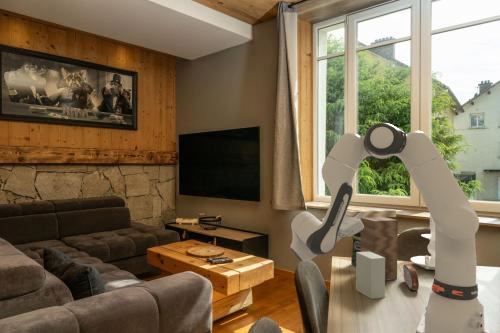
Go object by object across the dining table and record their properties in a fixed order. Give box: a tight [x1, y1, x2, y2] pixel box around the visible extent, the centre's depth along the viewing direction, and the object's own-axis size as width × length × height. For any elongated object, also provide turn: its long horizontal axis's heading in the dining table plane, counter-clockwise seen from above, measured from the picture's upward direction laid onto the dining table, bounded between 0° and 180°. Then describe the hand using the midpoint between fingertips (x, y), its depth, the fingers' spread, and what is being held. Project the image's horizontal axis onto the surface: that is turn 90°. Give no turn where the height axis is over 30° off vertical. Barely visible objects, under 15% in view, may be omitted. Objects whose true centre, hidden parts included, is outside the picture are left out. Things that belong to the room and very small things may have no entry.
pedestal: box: [355, 251, 386, 300], centre depth 135 cm, size 6×10×15 cm, turn 15°
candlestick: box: [410, 213, 435, 271], centre depth 168 cm, size 21×25×28 cm
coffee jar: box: [351, 231, 361, 267], centre depth 172 cm, size 10×8×19 cm
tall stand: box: [360, 217, 399, 281], centre depth 156 cm, size 12×10×26 cm
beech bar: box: [345, 208, 397, 218], centre depth 135 cm, size 20×4×2 cm, turn 105°
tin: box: [402, 263, 420, 291], centre depth 143 cm, size 15×3×8 cm, turn 168°
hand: (357, 212), depth 134 cm, fingers closed on beech bar, 4 cm apart
